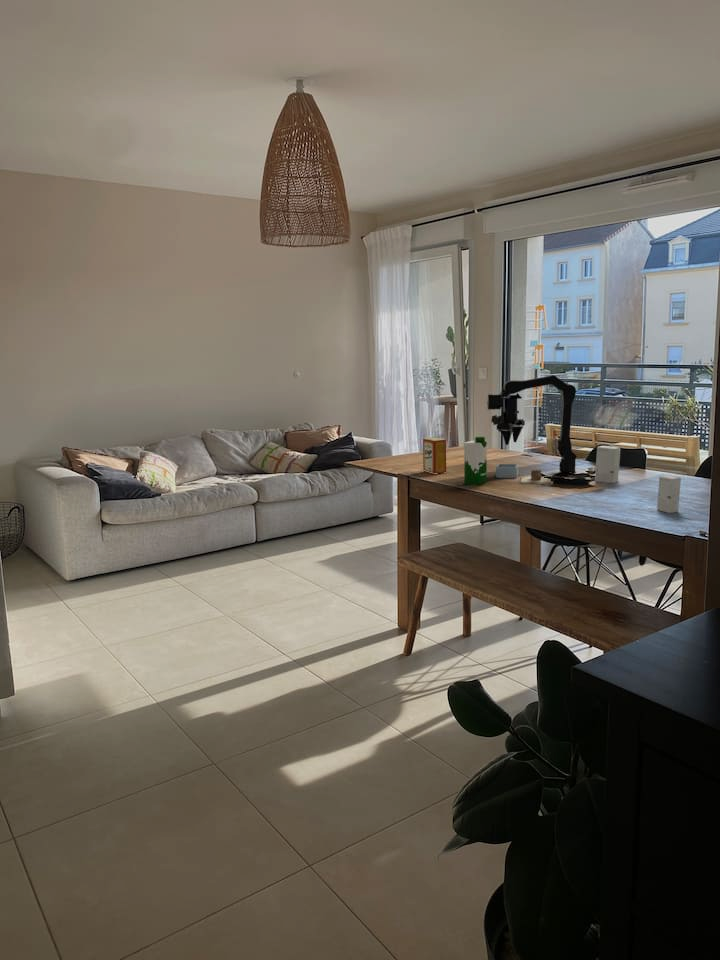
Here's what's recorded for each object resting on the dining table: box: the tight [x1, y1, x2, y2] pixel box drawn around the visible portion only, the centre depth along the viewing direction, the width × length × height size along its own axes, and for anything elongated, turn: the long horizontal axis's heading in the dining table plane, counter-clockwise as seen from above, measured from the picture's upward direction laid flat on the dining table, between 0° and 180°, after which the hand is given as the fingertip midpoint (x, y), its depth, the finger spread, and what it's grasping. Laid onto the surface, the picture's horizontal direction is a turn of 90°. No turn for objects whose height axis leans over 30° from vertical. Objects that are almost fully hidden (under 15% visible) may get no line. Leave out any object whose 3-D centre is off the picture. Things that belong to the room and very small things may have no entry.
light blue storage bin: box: [495, 463, 519, 479], centre depth 334 cm, size 9×9×5 cm
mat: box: [517, 477, 554, 486], centre depth 321 cm, size 14×14×1 cm
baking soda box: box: [422, 437, 447, 474], centre depth 350 cm, size 10×6×16 cm
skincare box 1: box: [594, 445, 621, 484], centre depth 315 cm, size 8×6×15 cm
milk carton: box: [462, 436, 489, 486], centre depth 320 cm, size 9×9×20 cm
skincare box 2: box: [656, 474, 682, 514], centre depth 261 cm, size 6×4×12 cm
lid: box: [521, 468, 551, 485], centre depth 320 cm, size 12×12×5 cm
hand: (511, 443), depth 340 cm, fingers open, 9 cm apart
